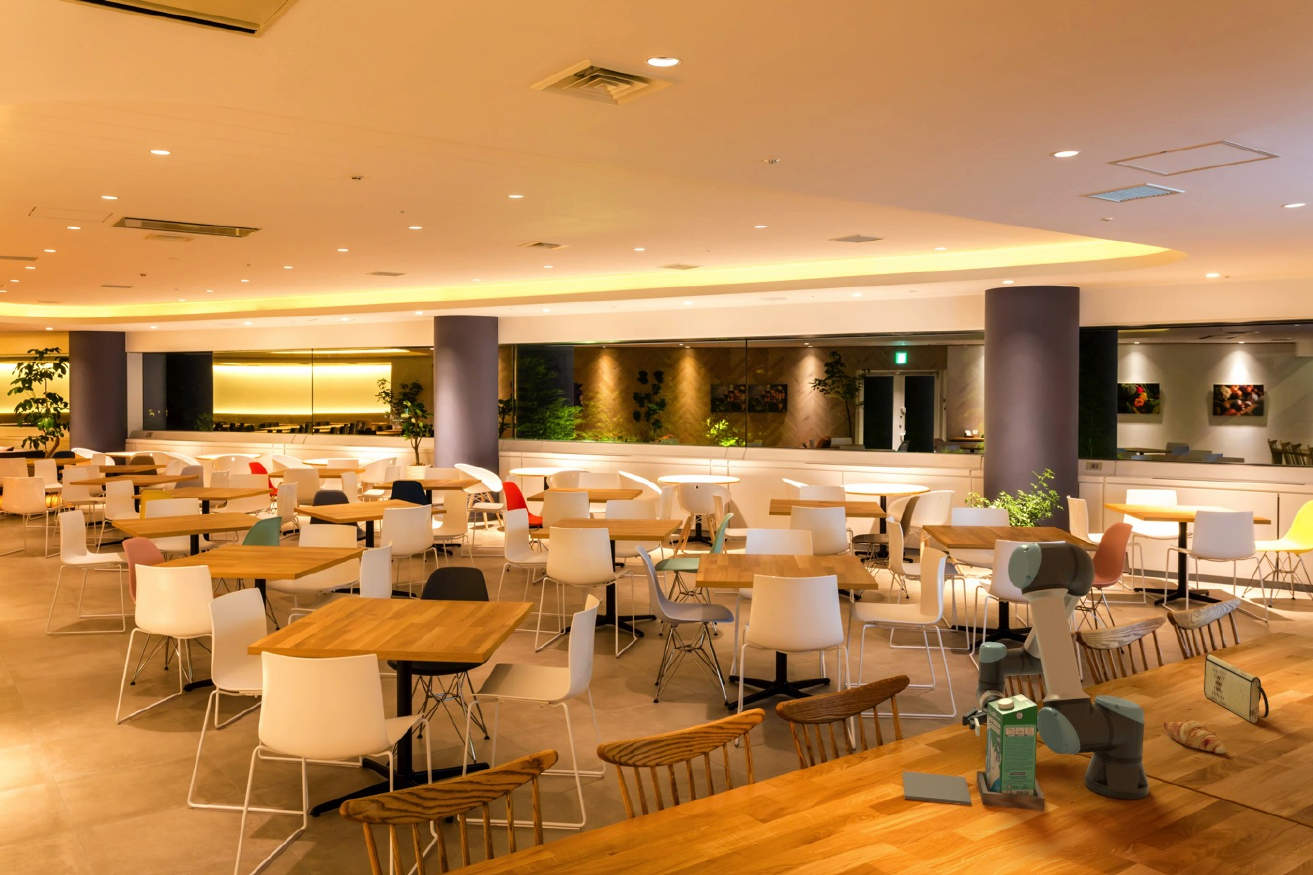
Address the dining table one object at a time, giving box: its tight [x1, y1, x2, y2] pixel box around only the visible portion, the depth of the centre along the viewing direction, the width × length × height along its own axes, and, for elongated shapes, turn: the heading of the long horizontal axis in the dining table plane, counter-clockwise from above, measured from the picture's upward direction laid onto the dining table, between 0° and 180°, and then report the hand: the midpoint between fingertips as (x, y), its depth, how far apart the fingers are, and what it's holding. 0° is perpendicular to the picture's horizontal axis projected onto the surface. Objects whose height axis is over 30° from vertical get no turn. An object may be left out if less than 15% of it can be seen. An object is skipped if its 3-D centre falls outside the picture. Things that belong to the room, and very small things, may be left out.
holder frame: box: [976, 770, 1046, 812], centre depth 250 cm, size 14×14×3 cm
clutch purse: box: [1203, 653, 1270, 724], centre depth 320 cm, size 30×7×15 cm, turn 0°
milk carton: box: [985, 693, 1039, 796], centre depth 250 cm, size 9×9×25 cm
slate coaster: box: [902, 770, 972, 806], centre depth 254 cm, size 16×16×1 cm
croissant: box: [1163, 718, 1227, 755], centre depth 289 cm, size 21×10×8 cm, turn 21°
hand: (1005, 733), depth 258 cm, fingers open, 13 cm apart
